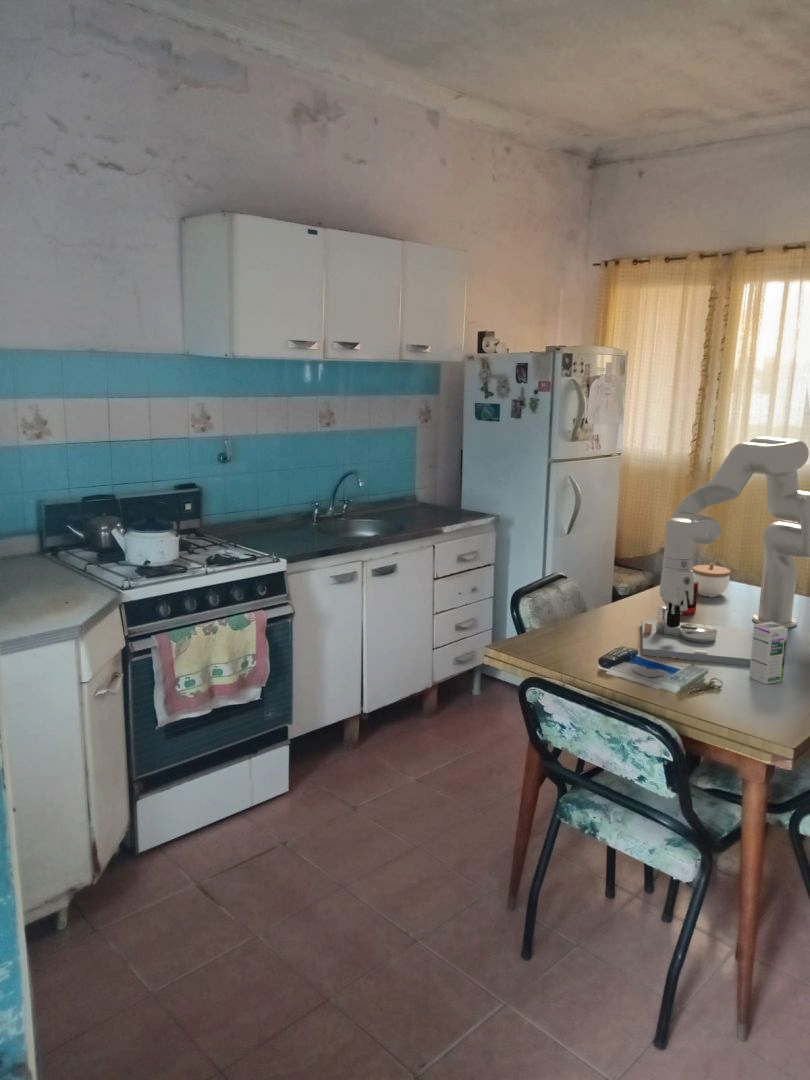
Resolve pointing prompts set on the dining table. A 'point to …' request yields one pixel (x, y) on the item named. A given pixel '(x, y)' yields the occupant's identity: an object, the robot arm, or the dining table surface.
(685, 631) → the grey piece
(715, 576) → the lidded bowl
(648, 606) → the dining table surface
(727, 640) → the board
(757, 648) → the syrup box
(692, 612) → the canned food
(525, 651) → the dining table surface
